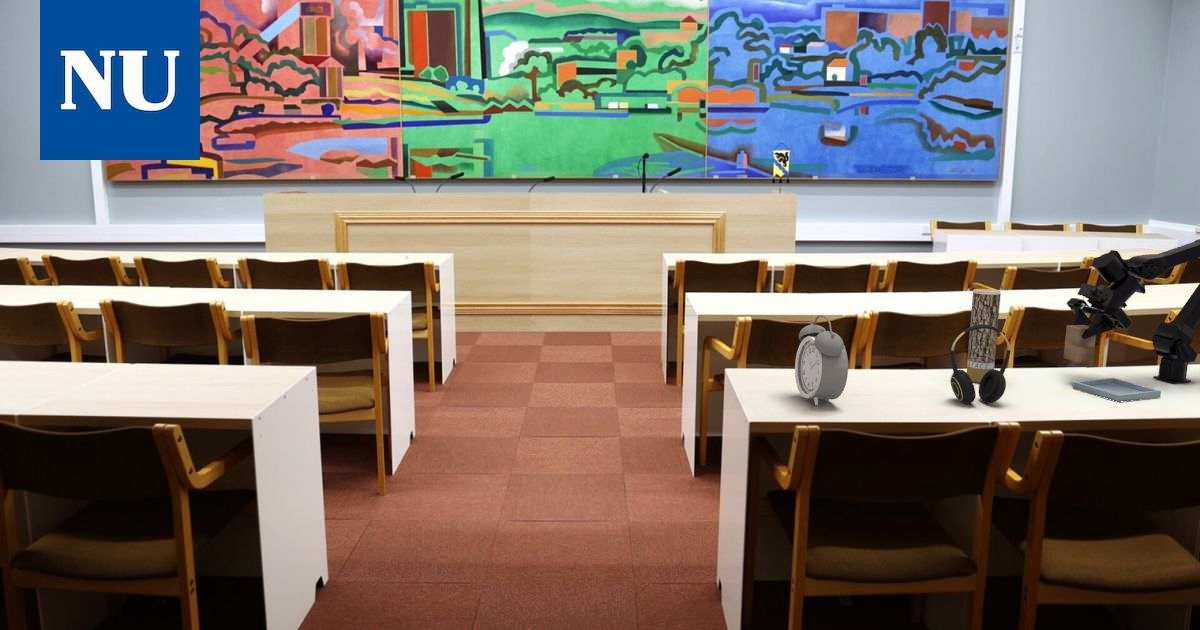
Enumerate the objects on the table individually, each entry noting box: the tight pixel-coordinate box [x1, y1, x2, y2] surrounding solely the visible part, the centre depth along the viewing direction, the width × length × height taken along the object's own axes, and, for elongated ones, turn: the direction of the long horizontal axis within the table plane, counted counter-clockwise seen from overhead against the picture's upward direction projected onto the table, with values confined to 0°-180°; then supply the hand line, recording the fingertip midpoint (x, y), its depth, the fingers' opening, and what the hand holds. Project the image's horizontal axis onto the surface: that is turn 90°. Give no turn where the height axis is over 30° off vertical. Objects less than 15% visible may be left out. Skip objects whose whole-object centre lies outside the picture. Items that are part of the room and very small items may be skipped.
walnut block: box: [1063, 324, 1097, 363], centre depth 234 cm, size 5×5×9 cm
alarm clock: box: [794, 314, 849, 406], centre depth 217 cm, size 16×9×22 cm, turn 9°
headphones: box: [950, 324, 1011, 404], centre depth 216 cm, size 9×15×20 cm, turn 91°
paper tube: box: [966, 288, 1002, 384], centre depth 237 cm, size 7×7×25 cm
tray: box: [1072, 377, 1162, 403], centre depth 227 cm, size 14×14×2 cm
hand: (1075, 335), depth 233 cm, fingers closed on walnut block, 5 cm apart
